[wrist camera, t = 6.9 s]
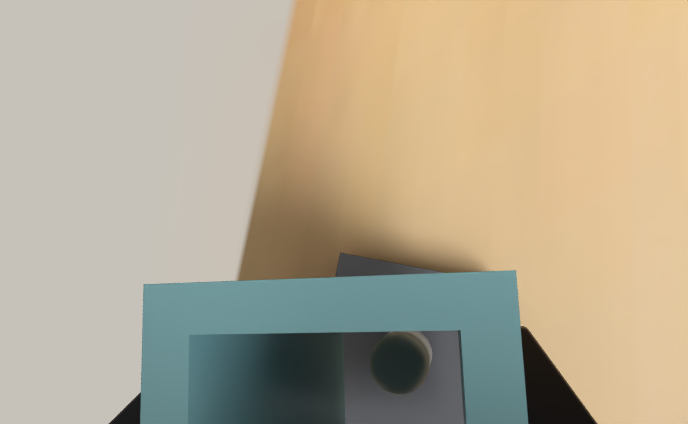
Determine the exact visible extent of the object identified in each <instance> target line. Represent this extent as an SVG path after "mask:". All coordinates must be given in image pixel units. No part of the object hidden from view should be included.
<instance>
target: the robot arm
mask: <svg viewBox="0 0 688 424" xmlns="http://www.w3.org/2000/svg"><path fill="white" fill-rule="evenodd" d="M520 327H521V339H522V352H523V364H524V377H525V389H526V401H527V414H528V424H597V423H596V421H595V420H594V418H593V417H592V416H591V414H590V413H589V412H588V410H587V409H586V408H585V406H584V405H583V403H582V402H581V401H580V399H579V398H578V397H577V395H576V394H575V392H574V391H573V390H572V388H571V387H570V386H569V384H568V383H567V382H566V380H565V379H564V377H563V376H562V375H561V373H560V372H559V371H558V369H557V368H556V367H555V365H554V364H553V362H552V361H551V360H550V358H549V357H548V356H547V354H546V353H545V352H544V350H543V349H542V347H541V346H540V345H539V343H538V342H537V341H536V339H535V338H534V336H533V335H532V334H531V332H530V331H529V330H528V329H527V328H526V327H524V326H520ZM140 413H141V392H140V393H139V394H138V395H137V396H136V398H134V400H132V401H131V402H130V403H129V404H128V405H127V406H126V407H125V408H124V409H123V410H122V411H121V412H120V413H119V414H118V415H117V416H116V417H115V418H114V419H113V420H112V421H111V422H110V423H109V424H140Z"/></svg>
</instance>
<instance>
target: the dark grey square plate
mask: <svg viewBox="0 0 688 424" xmlns="http://www.w3.org/2000/svg"><path fill="white" fill-rule="evenodd" d="M434 273H444V272H439V271H433V270H428V269H423V268H418V267H412V266H407V265H402V264H397V263H392V262H386V261H381V260H376V259H371V258H366V257H360V256H355V255H350V254H345V253H340V256H339V261H338V266H337V272H336V277H354V276H380V275H407V274H434ZM343 353H344V385H345V417H346V424H464V418H463V403H462V387H461V371H460V355H459V339H458V330H454V331H392V332H343Z"/></svg>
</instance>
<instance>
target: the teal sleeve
mask: <svg viewBox="0 0 688 424" xmlns="http://www.w3.org/2000/svg"><path fill="white" fill-rule="evenodd" d="M454 330H458V339H459V355H460V371H461V387H462V403H463V418H464V424H528V414H527V401H526V389H525V377H524V364H523V352H522V339H521V327H520V315H519V302H518V290H517V277H516V270H513V271H487V272H460V273H434V274H407V275H380V276H354V277H327V278H301V279H274V280H248V281H221V282H196V283H168V284H144V292H143V331H142V333H143V334H142V373H141V376H142V377H141V413H140V424H346V417H345V385H344V353H343V332H392V331H454Z"/></svg>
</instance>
